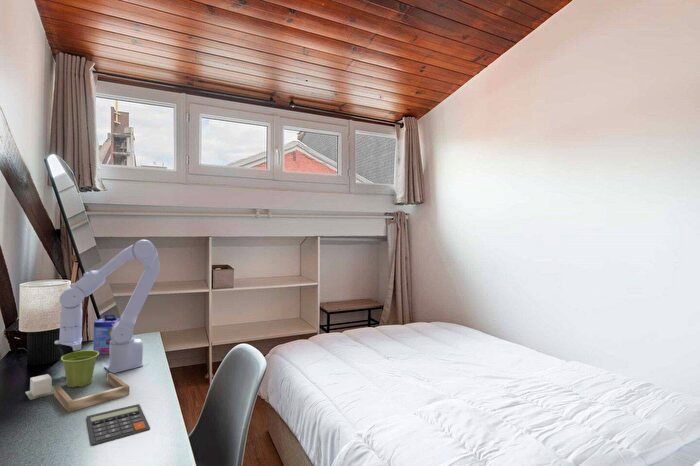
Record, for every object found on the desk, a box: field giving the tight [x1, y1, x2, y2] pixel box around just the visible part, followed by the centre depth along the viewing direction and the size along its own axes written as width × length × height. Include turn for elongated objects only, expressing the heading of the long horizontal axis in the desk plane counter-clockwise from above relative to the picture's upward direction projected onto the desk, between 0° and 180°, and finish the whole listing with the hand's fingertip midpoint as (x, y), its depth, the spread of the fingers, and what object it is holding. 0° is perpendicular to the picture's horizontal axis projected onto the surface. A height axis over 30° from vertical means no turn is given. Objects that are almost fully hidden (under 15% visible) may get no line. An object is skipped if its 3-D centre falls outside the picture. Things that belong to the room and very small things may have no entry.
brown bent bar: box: [25, 372, 130, 413], centre depth 106 cm, size 19×21×2 cm
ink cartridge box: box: [92, 314, 120, 355], centre depth 141 cm, size 10×6×14 cm, turn 104°
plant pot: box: [60, 349, 100, 388], centre depth 113 cm, size 9×9×9 cm
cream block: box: [29, 373, 53, 396], centre depth 106 cm, size 4×4×4 cm
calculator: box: [86, 403, 151, 446], centre depth 91 cm, size 12×1×15 cm
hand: (69, 367), depth 119 cm, fingers closed
